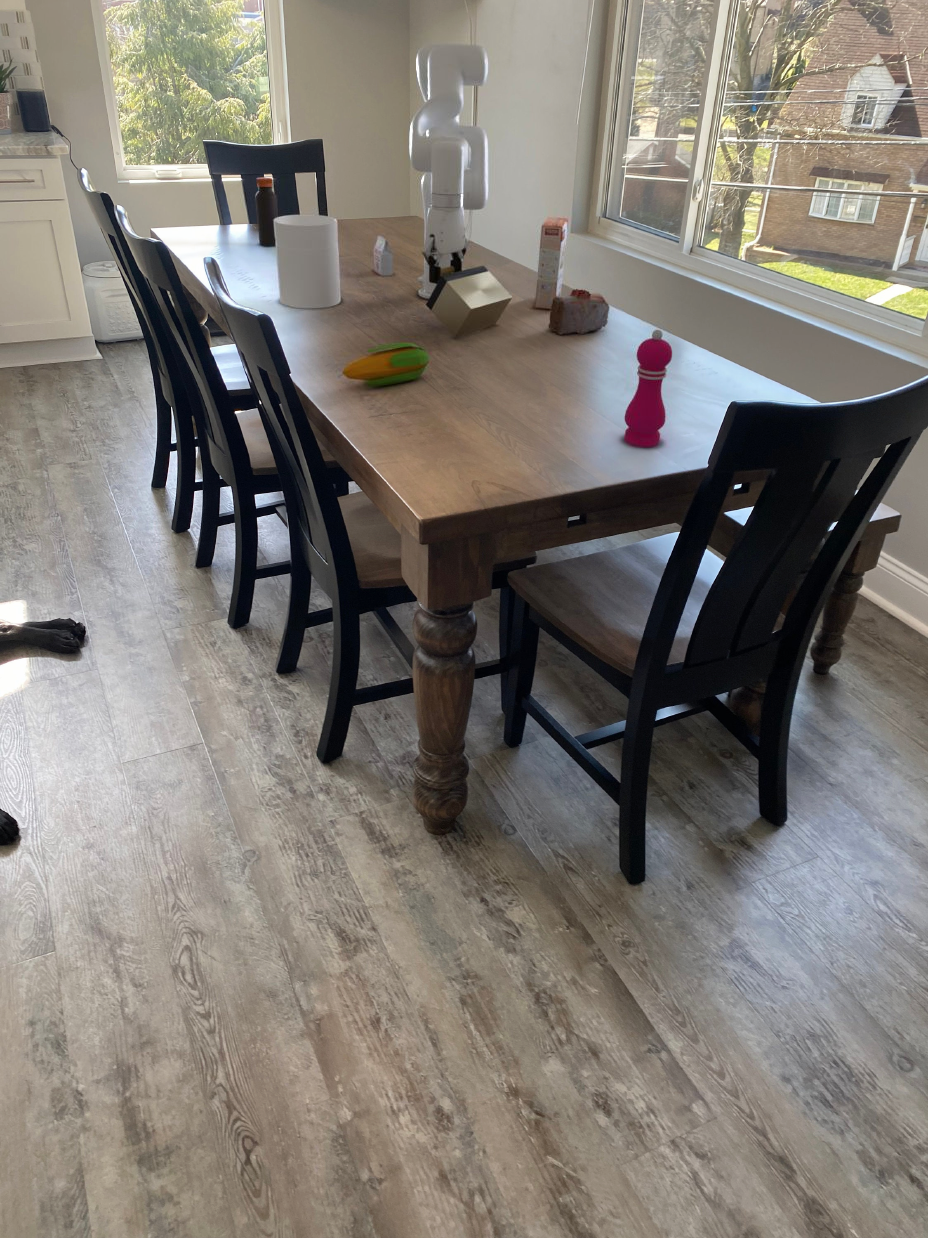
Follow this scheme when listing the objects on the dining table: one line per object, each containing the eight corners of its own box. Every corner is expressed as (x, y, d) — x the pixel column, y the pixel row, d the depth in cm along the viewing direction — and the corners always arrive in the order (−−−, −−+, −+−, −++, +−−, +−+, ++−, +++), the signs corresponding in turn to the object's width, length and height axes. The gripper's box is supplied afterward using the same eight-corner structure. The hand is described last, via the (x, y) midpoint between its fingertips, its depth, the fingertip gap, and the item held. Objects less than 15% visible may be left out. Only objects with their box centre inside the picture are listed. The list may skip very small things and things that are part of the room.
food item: (590, 323, 227) (595, 283, 222) (609, 331, 222) (614, 290, 216) (545, 328, 222) (549, 287, 216) (563, 337, 216) (566, 295, 211)
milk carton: (385, 269, 271) (384, 234, 265) (392, 274, 266) (392, 239, 260) (373, 270, 270) (372, 235, 264) (381, 275, 265) (380, 239, 259)
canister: (352, 301, 238) (350, 220, 227) (305, 311, 228) (300, 227, 217) (315, 290, 247) (310, 212, 236) (267, 299, 237) (260, 218, 226)
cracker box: (556, 310, 237) (563, 226, 226) (533, 308, 238) (540, 224, 226) (562, 298, 249) (569, 217, 237) (540, 296, 249) (546, 215, 238)
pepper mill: (632, 430, 166) (647, 321, 155) (668, 439, 163) (686, 329, 152) (614, 442, 161) (629, 330, 150) (651, 452, 158) (669, 338, 147)
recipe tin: (411, 288, 215) (427, 259, 208) (453, 278, 225) (470, 249, 218) (454, 337, 212) (471, 308, 206) (495, 324, 223) (512, 297, 216)
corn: (436, 341, 183) (351, 356, 173) (437, 379, 187) (353, 394, 177) (417, 335, 188) (333, 348, 178) (418, 371, 192) (336, 386, 182)
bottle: (278, 246, 295) (272, 180, 284) (257, 246, 294) (251, 179, 284) (282, 242, 300) (276, 177, 289) (261, 242, 300) (256, 176, 289)
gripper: (458, 195, 215) (456, 272, 225) (409, 202, 204) (409, 283, 213) (482, 199, 211) (479, 277, 221) (434, 207, 200) (433, 289, 209)
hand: (445, 279), depth 217 cm, fingers closed on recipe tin, 7 cm apart
